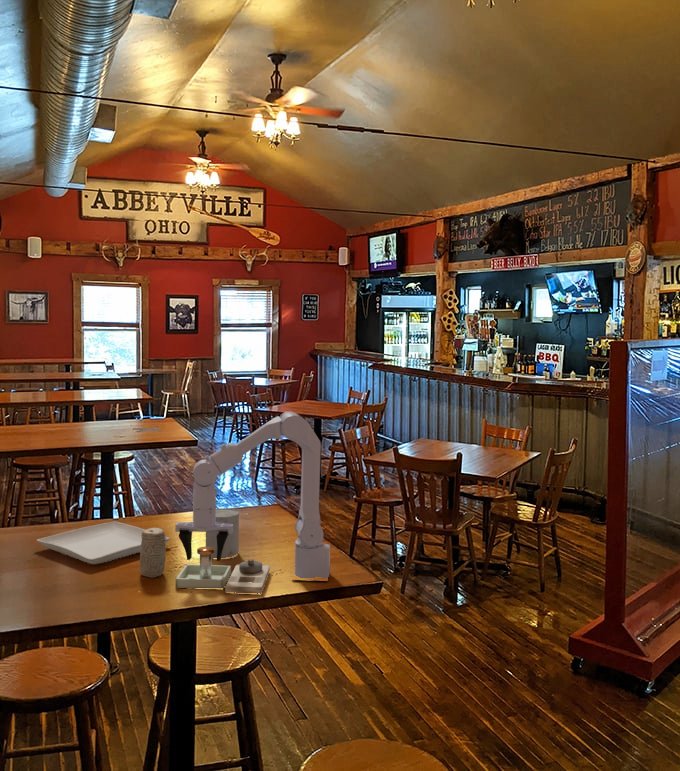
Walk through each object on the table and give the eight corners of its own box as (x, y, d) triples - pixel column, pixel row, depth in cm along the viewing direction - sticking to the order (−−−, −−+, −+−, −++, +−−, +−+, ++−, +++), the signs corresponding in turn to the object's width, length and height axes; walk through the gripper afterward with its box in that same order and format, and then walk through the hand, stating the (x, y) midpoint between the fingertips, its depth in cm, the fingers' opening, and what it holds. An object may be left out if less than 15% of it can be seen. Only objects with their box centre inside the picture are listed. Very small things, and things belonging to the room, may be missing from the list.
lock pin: (215, 576, 192) (215, 546, 191) (212, 582, 187) (212, 552, 187) (198, 576, 192) (199, 546, 191) (195, 582, 187) (195, 551, 187)
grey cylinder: (206, 561, 206) (207, 517, 204) (203, 550, 215) (204, 509, 214) (241, 558, 208) (241, 516, 207) (236, 548, 217) (236, 507, 216)
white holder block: (269, 572, 197) (269, 555, 197) (261, 595, 181) (261, 576, 181) (236, 571, 197) (236, 554, 197) (225, 594, 181) (225, 575, 181)
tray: (230, 574, 195) (231, 565, 195) (223, 590, 184) (223, 580, 184) (186, 573, 195) (186, 564, 195) (175, 588, 184) (175, 578, 184)
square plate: (91, 572, 195) (91, 558, 195) (35, 551, 212) (34, 538, 212) (171, 548, 217) (171, 535, 217) (114, 531, 233) (114, 519, 233)
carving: (150, 581, 189) (150, 535, 188) (134, 574, 194) (133, 529, 193) (171, 575, 194) (171, 530, 193) (154, 568, 199) (154, 524, 198)
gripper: (172, 510, 184) (172, 563, 185) (229, 512, 184) (229, 565, 185) (179, 503, 191) (179, 554, 192) (234, 505, 191) (234, 556, 192)
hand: (204, 559), depth 189 cm, fingers open, 7 cm apart
